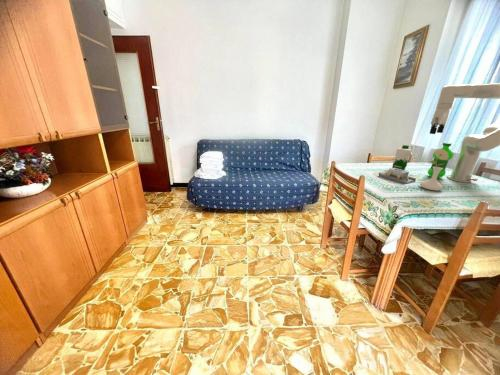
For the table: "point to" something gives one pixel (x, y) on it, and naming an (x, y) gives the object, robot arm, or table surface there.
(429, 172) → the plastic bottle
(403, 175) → the block
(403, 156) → the milk carton
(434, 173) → the flower in vase
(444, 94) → the robot arm
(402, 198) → the table surface
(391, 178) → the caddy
